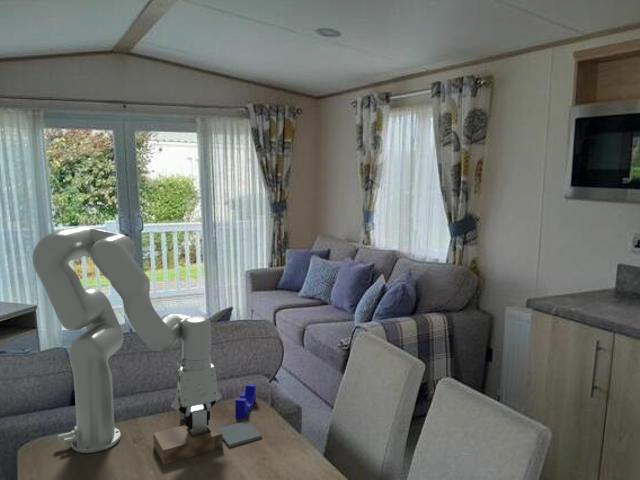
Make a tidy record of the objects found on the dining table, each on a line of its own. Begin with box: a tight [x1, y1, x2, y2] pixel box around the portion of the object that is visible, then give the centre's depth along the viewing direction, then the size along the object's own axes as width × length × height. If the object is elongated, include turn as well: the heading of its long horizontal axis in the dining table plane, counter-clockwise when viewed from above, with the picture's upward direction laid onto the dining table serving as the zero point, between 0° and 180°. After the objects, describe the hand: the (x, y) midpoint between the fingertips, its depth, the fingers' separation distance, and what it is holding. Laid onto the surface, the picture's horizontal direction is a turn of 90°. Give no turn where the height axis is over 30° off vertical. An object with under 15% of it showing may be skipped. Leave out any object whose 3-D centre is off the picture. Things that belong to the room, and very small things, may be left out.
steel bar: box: [188, 404, 207, 438], centre depth 138 cm, size 4×4×10 cm
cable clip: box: [234, 383, 257, 420], centre depth 159 cm, size 12×4×6 cm, turn 171°
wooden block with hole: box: [153, 418, 223, 465], centre depth 137 cm, size 16×10×4 cm, turn 122°
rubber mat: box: [217, 420, 263, 448], centre depth 144 cm, size 10×10×1 cm
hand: (197, 424), depth 138 cm, fingers closed on steel bar, 4 cm apart
